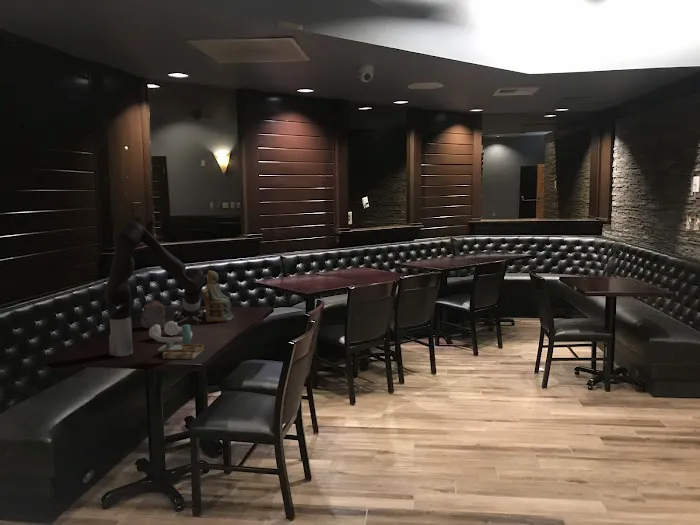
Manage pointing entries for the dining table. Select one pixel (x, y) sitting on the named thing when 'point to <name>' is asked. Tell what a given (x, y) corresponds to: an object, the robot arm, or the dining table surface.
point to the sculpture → (216, 301)
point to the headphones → (169, 328)
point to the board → (183, 351)
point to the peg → (186, 334)
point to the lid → (170, 345)
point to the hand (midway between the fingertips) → (188, 324)
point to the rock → (153, 315)
